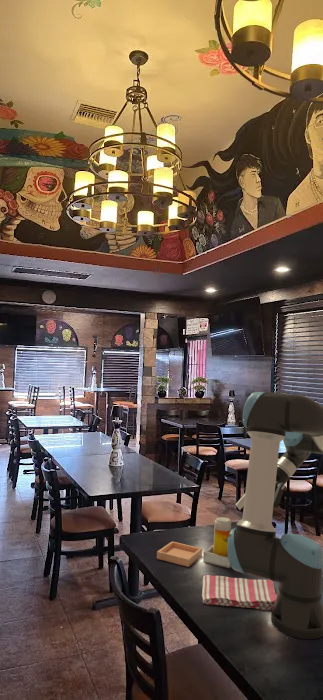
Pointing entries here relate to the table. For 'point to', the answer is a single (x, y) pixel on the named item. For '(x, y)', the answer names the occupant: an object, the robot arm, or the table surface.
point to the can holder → (215, 558)
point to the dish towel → (238, 592)
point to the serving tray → (179, 553)
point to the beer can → (221, 535)
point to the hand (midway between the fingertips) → (246, 512)
